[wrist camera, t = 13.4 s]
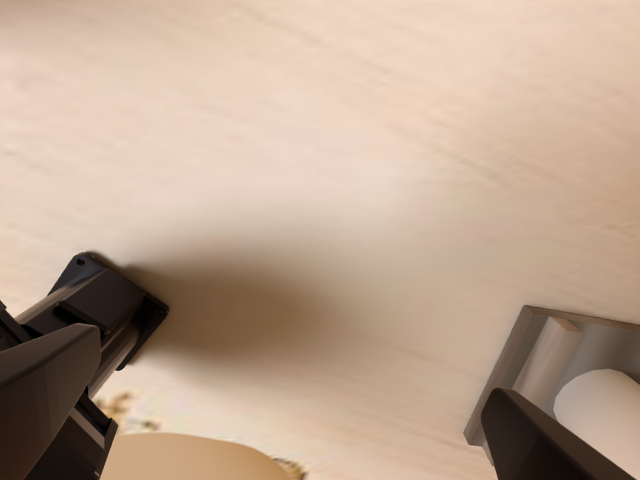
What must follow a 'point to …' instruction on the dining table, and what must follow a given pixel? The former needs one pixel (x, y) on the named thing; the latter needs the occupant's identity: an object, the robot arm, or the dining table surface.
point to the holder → (556, 358)
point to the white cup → (604, 415)
